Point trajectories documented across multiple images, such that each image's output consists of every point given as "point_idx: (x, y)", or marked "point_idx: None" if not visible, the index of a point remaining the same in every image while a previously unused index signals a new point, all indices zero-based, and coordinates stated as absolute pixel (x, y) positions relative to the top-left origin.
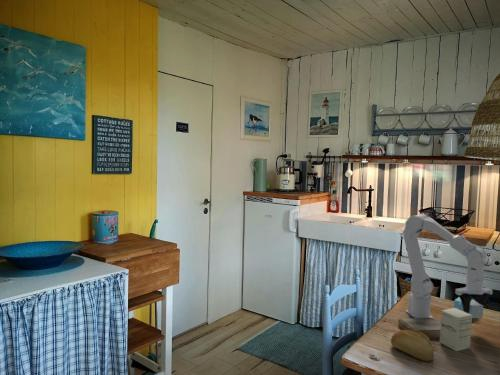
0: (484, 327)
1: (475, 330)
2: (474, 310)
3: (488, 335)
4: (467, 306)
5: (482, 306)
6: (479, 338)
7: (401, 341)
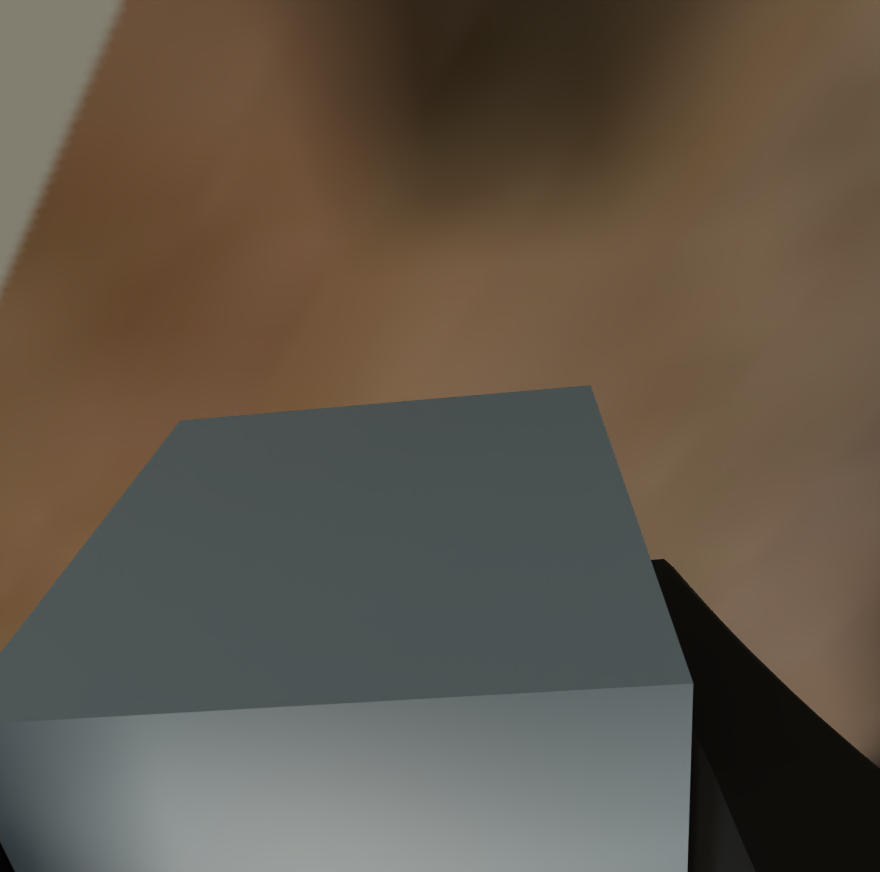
0: None
1: None
2: (481, 530)
3: (169, 226)
4: (804, 715)
5: (27, 676)
6: (439, 77)
7: None
